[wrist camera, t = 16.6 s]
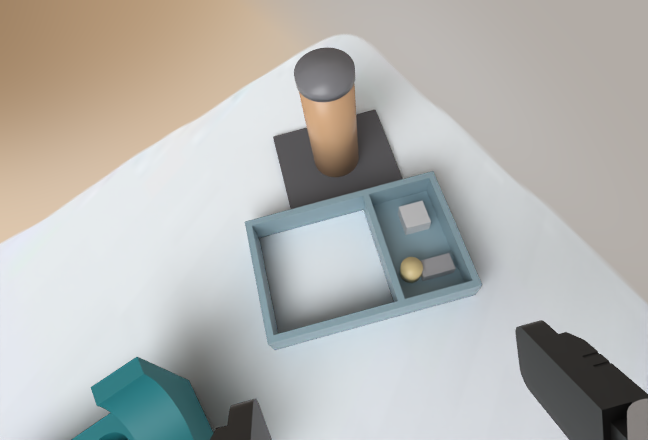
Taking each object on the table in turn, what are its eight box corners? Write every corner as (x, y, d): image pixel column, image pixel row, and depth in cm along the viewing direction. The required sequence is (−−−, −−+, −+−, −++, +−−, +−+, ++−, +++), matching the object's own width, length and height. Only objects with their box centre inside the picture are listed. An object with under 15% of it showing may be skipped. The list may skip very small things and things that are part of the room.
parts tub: (429, 186, 46) (433, 171, 43) (475, 294, 41) (482, 284, 38) (252, 234, 46) (244, 221, 43) (274, 350, 40) (267, 343, 38)
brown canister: (352, 134, 49) (345, 41, 38) (365, 170, 47) (362, 84, 35) (308, 145, 49) (288, 56, 38) (319, 183, 47) (301, 100, 35)
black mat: (375, 112, 51) (375, 109, 50) (403, 184, 46) (403, 182, 46) (274, 139, 51) (273, 136, 50) (292, 214, 46) (291, 212, 46)
